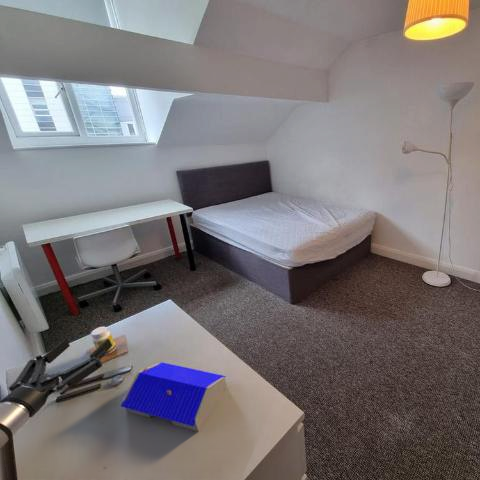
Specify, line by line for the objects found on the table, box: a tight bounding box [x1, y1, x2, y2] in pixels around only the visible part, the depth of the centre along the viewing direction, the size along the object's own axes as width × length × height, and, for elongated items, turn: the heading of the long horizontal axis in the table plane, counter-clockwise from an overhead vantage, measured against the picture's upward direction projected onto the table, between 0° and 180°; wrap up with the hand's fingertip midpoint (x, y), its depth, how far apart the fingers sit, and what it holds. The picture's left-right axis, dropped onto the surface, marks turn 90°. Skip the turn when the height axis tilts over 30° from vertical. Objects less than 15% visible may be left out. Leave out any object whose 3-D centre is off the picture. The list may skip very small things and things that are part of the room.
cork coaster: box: [88, 334, 129, 364], centre depth 90 cm, size 10×10×1 cm
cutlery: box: [55, 364, 133, 403], centre depth 78 cm, size 17×6×1 cm, turn 113°
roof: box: [120, 362, 228, 432], centre depth 72 cm, size 22×14×7 cm, turn 76°
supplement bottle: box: [90, 326, 116, 355], centre depth 88 cm, size 5×5×8 cm
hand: (88, 342), depth 83 cm, fingers open, 13 cm apart
